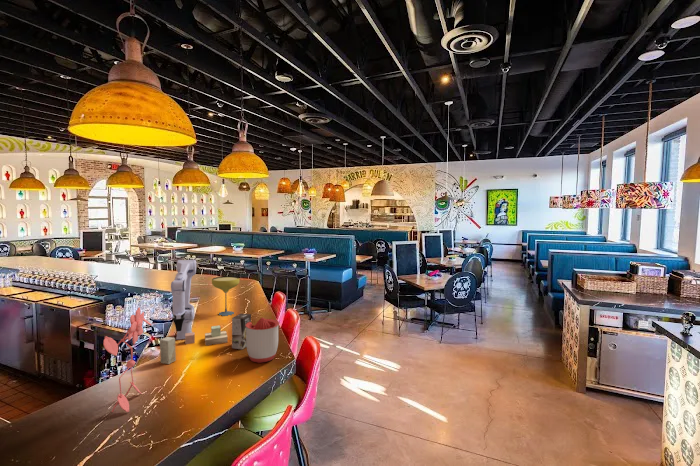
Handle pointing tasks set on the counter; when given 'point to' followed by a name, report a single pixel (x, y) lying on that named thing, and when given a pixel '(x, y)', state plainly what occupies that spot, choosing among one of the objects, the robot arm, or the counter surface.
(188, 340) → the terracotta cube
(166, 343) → the box
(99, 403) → the counter surface
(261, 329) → the citrus juicer
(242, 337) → the coffee box
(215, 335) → the sage cube
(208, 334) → the maple board
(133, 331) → the pink thin branching piece
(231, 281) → the cocktail glass
